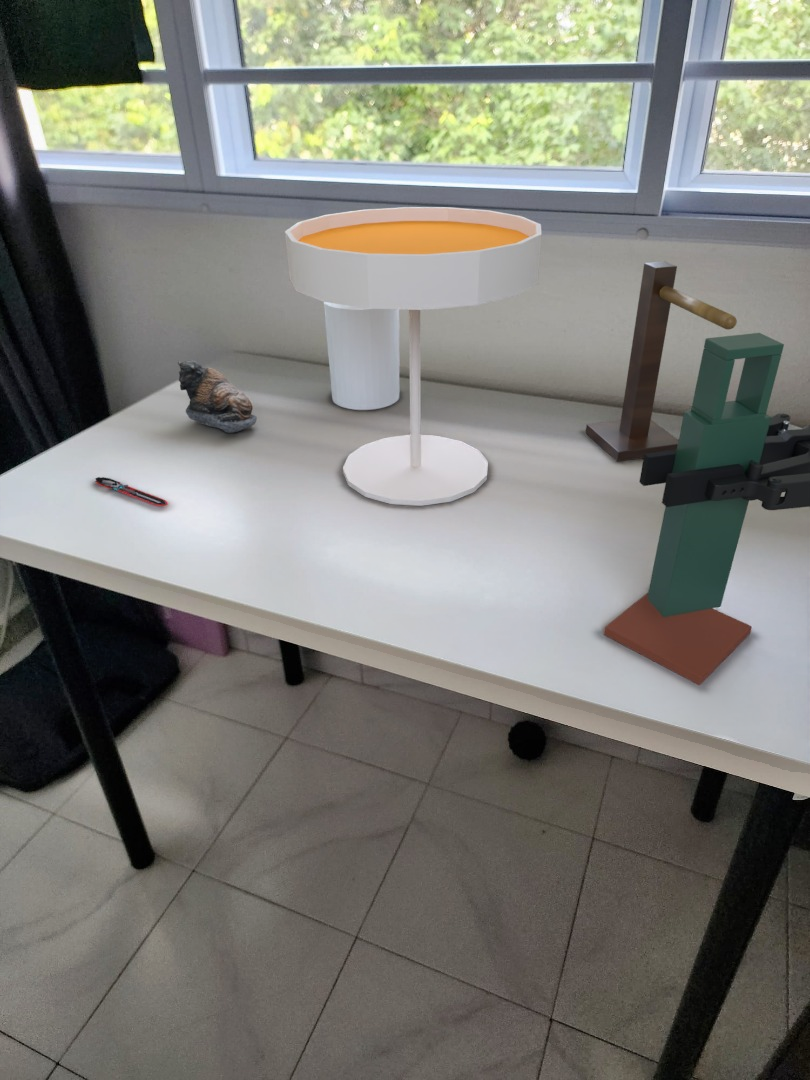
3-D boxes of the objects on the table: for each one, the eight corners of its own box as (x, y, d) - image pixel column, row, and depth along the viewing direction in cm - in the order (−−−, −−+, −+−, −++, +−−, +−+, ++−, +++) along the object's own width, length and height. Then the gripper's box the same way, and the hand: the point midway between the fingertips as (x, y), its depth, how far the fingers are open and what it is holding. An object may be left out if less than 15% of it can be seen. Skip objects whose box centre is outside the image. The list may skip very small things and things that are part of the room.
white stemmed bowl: (568, 491, 97) (598, 236, 80) (358, 548, 86) (342, 268, 70) (456, 412, 120) (461, 200, 103) (279, 450, 109) (252, 220, 92)
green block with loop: (720, 607, 70) (791, 343, 56) (663, 617, 69) (721, 351, 55) (702, 588, 73) (766, 331, 59) (646, 598, 71) (698, 338, 58)
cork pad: (750, 634, 73) (752, 626, 72) (699, 685, 67) (701, 677, 66) (657, 591, 79) (658, 583, 78) (603, 634, 73) (604, 626, 72)
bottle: (396, 411, 120) (392, 248, 107) (323, 409, 122) (311, 247, 108) (405, 385, 130) (402, 232, 117) (338, 383, 132) (328, 231, 118)
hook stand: (730, 490, 97) (778, 293, 83) (660, 501, 95) (698, 300, 81) (645, 425, 114) (674, 253, 101) (585, 432, 112) (606, 258, 99)
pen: (161, 510, 94) (160, 506, 94) (90, 483, 101) (89, 479, 101) (173, 504, 96) (172, 499, 96) (102, 477, 102) (101, 473, 102)
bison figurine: (265, 424, 117) (257, 362, 111) (239, 442, 111) (229, 378, 106) (203, 413, 121) (192, 352, 116) (174, 430, 116) (162, 367, 110)
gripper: (952, 527, 62) (701, 570, 58) (818, 445, 75) (604, 476, 71) (989, 445, 58) (721, 485, 54) (840, 374, 71) (615, 401, 67)
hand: (655, 480), depth 62 cm, fingers closed on green block with loop, 3 cm apart
